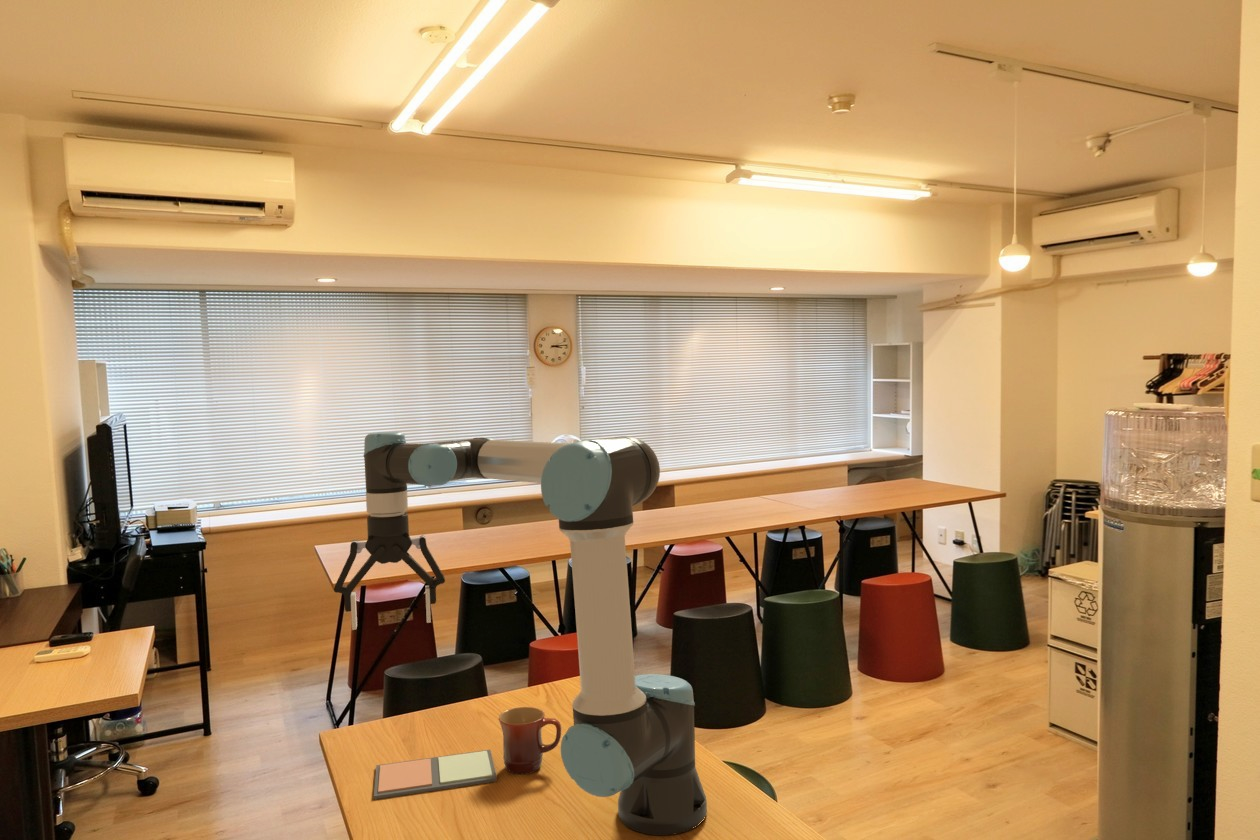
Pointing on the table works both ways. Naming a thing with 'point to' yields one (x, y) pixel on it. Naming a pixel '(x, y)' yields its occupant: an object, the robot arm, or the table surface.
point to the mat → (434, 774)
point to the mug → (525, 738)
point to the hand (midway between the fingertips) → (392, 624)
